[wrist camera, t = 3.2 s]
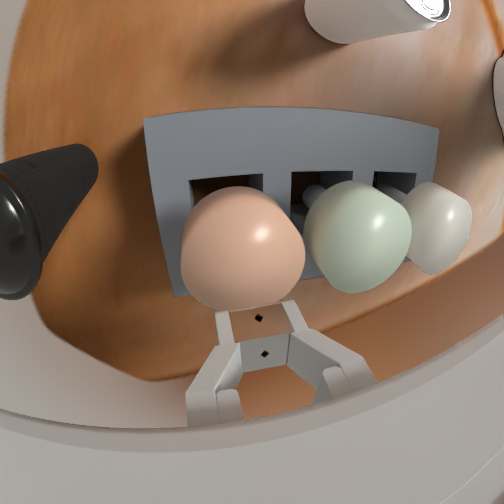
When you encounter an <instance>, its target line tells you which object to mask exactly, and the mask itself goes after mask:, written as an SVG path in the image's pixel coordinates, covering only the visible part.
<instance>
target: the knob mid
mask: <svg viewBox="0 0 504 504" xmlns="http://www.w3.org/2000/svg"><path fill="white" fill-rule="evenodd" d="M303 202H304V204H305V205H306V206H307V207H308V208H309V209H310V210H309V211H308V214H307V216H306V219H305V223H304V228H303V238H304V243H305V247H306V249H307V251H308V252H309V254H310V255H311V257H312V258H313V260H314V261H315V263H316V264H317V266H318V267H319V269H320V270H321V272H322V273H323V275H324V276H325V277H326V279H327V280H328V282H329V283H330V285H331V286H332V287H334V288H335V289H337V290H339V291H341V292H344V293H361V292H364V291H368V290H370V289H372V288H374V287H376V286H378V285H380V284H381V283H383V282H384V281H385V280H387V279H388V278H389V277H390V276H391V275H392V274H393V273H394V272H395V271H396V270H397V268H398V267H399V266H400V264H401V263H402V261H403V260H404V258H405V256H406V254H407V251H408V249H409V246H410V242H411V236H412V225H411V220H410V217H409V215H408V212H407V211H406V210H405V208H404V207H403V206H402V205H401V204H399V203H398V202H396V201H395V200H393V199H392V198H390V197H388V196H387V195H385V194H384V193H382V192H380V191H379V190H377V189H375V188H374V187H372V186H370V185H369V184H367V183H364V182H361V181H353V180H352V181H345V182H341V183H338V184H335V185H334V186H332V187H330V188H328V189H327V190H326V189H324V188H323V187H322V186H320V185H318V184H313V185H310V186H308V187H307V188H306V189H305V191H304V193H303Z"/></svg>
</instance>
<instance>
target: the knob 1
mask: <svg viewBox="0 0 504 504" xmlns="http://www.w3.org/2000/svg"><path fill="white" fill-rule="evenodd" d="M304 263H305V247H304V243H303V240H302V237H301V235H300V233H299V232H298V230H297V229H296V227H295V226H294V225H293V223H292V222H291V221H290V219H289V218H288V217H287V215H286V214H285V213H284V211H283V210H282V209H281V207H280V206H279V205H278V204H277V202H276V201H275V200H274V199H272V198H271V197H270V196H269V195H267V194H265V193H264V192H262V191H259V190H257V189H254V188H249V187H242V186H237V187H227V188H223V189H220V190H217V191H215V192H212V193H210V194H209V195H207V196H205V197H204V198H203V199H201V200H200V201H199V202H198V203H197V204H196V205H195V206H194V207H193V209H192V210H191V211H190V213H189V215H188V217H187V218H186V221H185V224H184V228H183V235H182V250H181V275H182V279H183V282H184V284H185V286H186V288H187V290H188V291H189V293H190V294H191V295H192V296H193V297H194V298H195V299H196V300H197V301H198V302H200V303H201V304H203V305H204V306H206V307H208V308H210V309H212V310H215V311H226V310H232V309H240V308H248V307H255V306H261V305H266V304H272V303H276V302H278V301H279V300H281V299H282V298H283V297H284V296H286V295H287V294H288V293H289V292H290V291H291V289H292V288H293V287H294V286H295V284H296V283H297V281H298V280H299V278H300V276H301V273H302V271H303V268H304Z"/></svg>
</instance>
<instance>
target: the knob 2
mask: <svg viewBox="0 0 504 504" xmlns="http://www.w3.org/2000/svg"><path fill="white" fill-rule="evenodd" d="M376 189H377V190H379V191H380V192H382V193H384V194H385V195H387V196H388V197H390V198H392V199H393V200H395V201H396V202H398V203H399V204H401V205H402V206H403V207H404V208H405V210H406V211H407V212H408V215H409V217H410V220H411V225H412V236H411V242H410V246H409V249H408V251H407V254H406V256H407V257H408V258H409V259H410V260H411V261H412V262H414V263H415V264H416V265H417V266H418V267H419V268H420V269H421V270H422V271H423V272H424V273H426V274H429V275H433V274H437V273H440V272H442V271H443V270H445V269H446V268H448V267H449V266H450V265H451V264H452V263H453V262H454V261H455V260H456V259H457V257H458V256H459V255H460V253H461V252H462V250H463V248H464V246H465V244H466V242H467V240H468V237H469V234H470V231H471V226H472V211H471V207H470V205H469V203H468V202H467V201H466V200H465V199H463V198H461V197H460V196H458V195H456V194H454V193H453V192H451V191H449V190H447V189H445V188H444V187H442V186H440V185H438V184H436V183H433V182H425V183H422V184H419V185H418V186H416V187H415V188H414V189H412V190H411V191H410V192H409V193H408V195H406V194H404V193H403V192H401V191H399V190H398V189H396V188H394V187H392V186H391V185H389V184H387V183H382V184H380V185H379V186H378V187H377V188H376Z"/></svg>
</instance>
